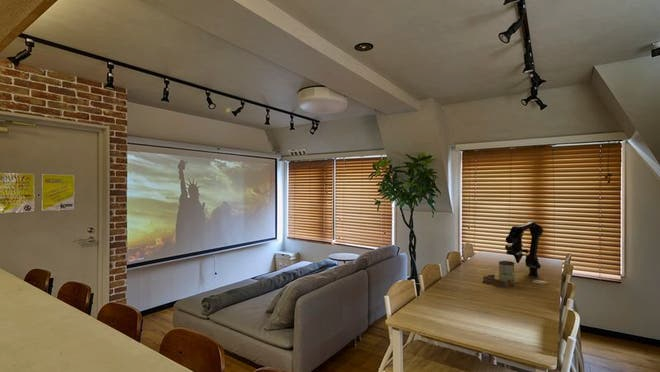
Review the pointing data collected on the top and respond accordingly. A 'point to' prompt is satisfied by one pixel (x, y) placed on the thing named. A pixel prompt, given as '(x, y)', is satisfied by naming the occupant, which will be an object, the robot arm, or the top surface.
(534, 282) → the cork mat
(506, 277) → the coffee can
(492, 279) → the walnut holder
